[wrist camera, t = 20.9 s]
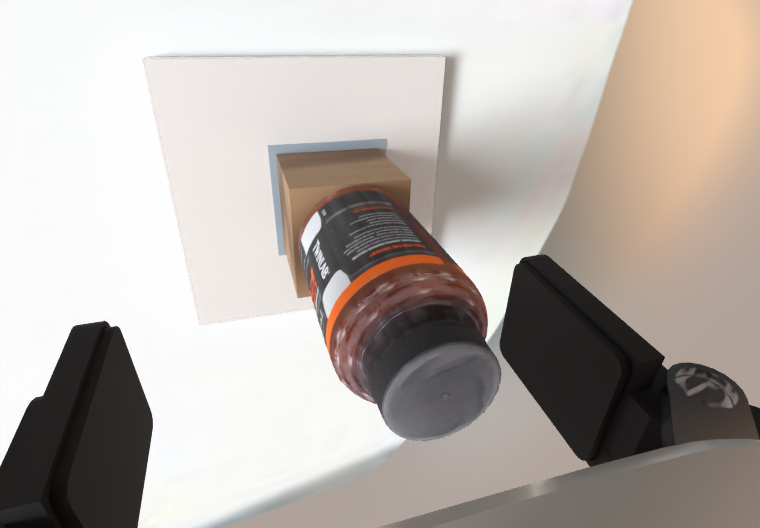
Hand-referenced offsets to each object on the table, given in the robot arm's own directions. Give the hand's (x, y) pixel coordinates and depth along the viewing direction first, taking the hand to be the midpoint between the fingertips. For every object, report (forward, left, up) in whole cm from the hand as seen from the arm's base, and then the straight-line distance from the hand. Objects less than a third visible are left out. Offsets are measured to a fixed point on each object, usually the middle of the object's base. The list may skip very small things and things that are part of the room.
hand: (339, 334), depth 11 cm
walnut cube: (+3, +3, -18) cm, 18 cm away
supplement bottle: (+3, +3, -12) cm, 13 cm away
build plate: (+3, +2, -19) cm, 20 cm away
